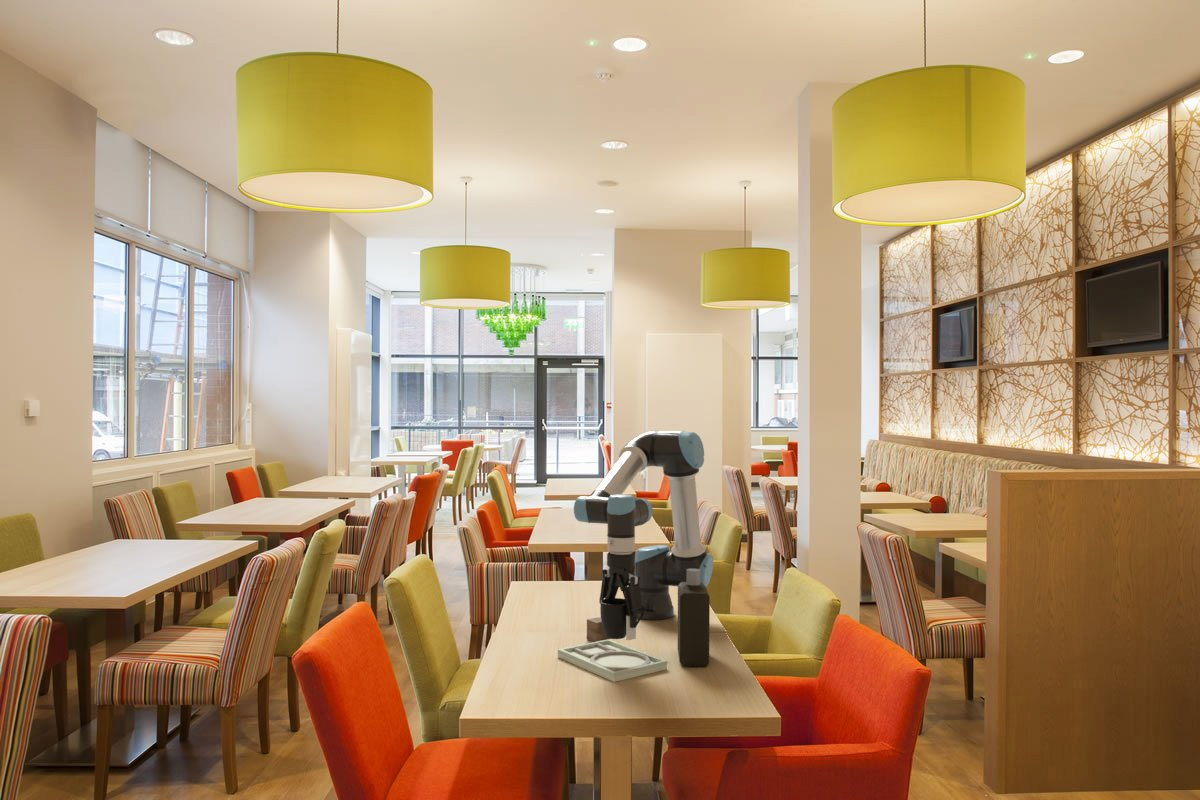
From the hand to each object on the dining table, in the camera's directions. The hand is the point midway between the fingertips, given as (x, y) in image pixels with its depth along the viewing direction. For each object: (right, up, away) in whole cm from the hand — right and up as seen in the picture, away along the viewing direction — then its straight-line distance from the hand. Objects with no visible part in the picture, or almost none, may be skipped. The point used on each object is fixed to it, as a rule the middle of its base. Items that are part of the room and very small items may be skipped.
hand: (620, 635), depth 224 cm
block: (-6, -9, +27) cm, 29 cm away
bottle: (+21, -9, +8) cm, 24 cm away
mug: (+1, 0, -1) cm, 1 cm away
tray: (-2, -9, +3) cm, 9 cm away
